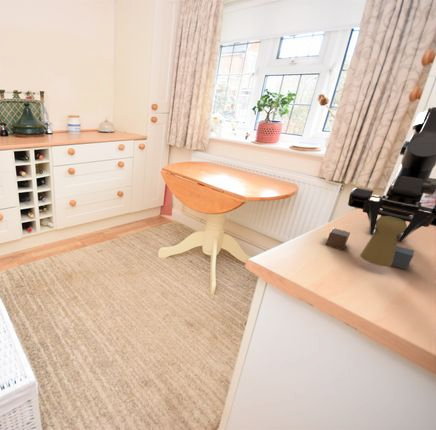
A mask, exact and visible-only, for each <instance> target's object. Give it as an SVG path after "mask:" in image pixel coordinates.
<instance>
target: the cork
mask: <svg viewBox="0 0 436 430" xmlns="http://www.w3.org/2000/svg"><path fill="white" fill-rule="evenodd" d="M407 226H408V225H407V221H406V222H405V221H403V220H402V219H399V218H396V217H391V216H382V217H380V216H379V218H377V221H376V225H375V227H377V229H376V231H375V232H374V234H371V237H370V239H369V240H368V242H367V243H366V244H365V246H364V248H363V249H362V251H361V253H360V254H359V256H360V258H361V259H363V260H364V261H365V262H368V263H370V264H373V265H376V266H381V267H391V266H392V262H393V258H394V254H395V250H396V247H397V246H398V243H399V241H398V239H399V235H400V234H401V235H402V234H403V232H404V231H405V229H406V228H407Z"/></svg>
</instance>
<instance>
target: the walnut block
mask: <svg viewBox="0 0 436 430" xmlns="http://www.w3.org/2000/svg"><path fill="white" fill-rule="evenodd" d="M350 235H351V232H350V231H346V230H342V229H338V228H335V227H333V228H332V229H331V231H330V232H329V234H328V237H327V239H326V243H325V245H327V246H328V247H329V246H330V247H331V248H336V249H338V250H344V248H345V247H346V246H347V243H348V240H349V238H350Z"/></svg>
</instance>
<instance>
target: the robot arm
mask: <svg viewBox="0 0 436 430" xmlns="http://www.w3.org/2000/svg"><path fill="white" fill-rule="evenodd" d="M412 131H414V132H413V134H412V135H411V138H409V141H408V140H405V142H404V143H403V145H401V146H402V147H401V149H400V152H399V156H402V159H401V160H400V161H401V163H400V164H399V167H398V170H397V171H396V174H395V176H394V178H393V180H392V182H391V184H390V185H389V188H388V190H387V192H386V194H384V195H383V194H382V196H380V195H377V194H373V193H374V190H372V189H367V188H363V187H354V188H352V190H351V191H350V194H349V197H348V202H347V205H348V206H349V207H351V208H356V209H360V210H362V212H363V213H365V214H366V215H367V218H368V225H369V234H371V235H373V234H374V232H375V231H376V229H377V227H376V221H377V220H378V216H379V218H380V217H382V216H391V217H396V218H399V219H402V220H403V221H405V222H406V223H409V224H408V225H407V227H406V229H405V231H404V232H403V233H402V234H400V235H399V239H398V242H400V243H403V241H404V240H406V238H408V236H410V235H411V234H412V233H414V232H416V230H418V229H420V228H421V227H424V228H429V227H430V226H433V227H436V203H435V204H434V206H433V207H427V206H422V202H421V200H422V198H423V195H430V196H432V195H434V194H435V192H436V178H432V177H430V176H431V174H432V171H433V170H434V168H435V166H436V106H432V107H428V109H427V110H426V111H423V112H420V113H418V115H417V116H416V119H415V122H414V123H413V126H412Z"/></svg>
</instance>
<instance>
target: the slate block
mask: <svg viewBox="0 0 436 430" xmlns="http://www.w3.org/2000/svg"><path fill="white" fill-rule="evenodd" d="M414 254H415V250H413V249H410V248H406V247H403V246H399V245H397V247H396V250H395V254H394V258H393V262H392V265H391V266H392V267H395V268H399V269H402V270H405V271H406V270H407V269H408V268H409V265H410V263H411V261H412V259H413V258H414Z"/></svg>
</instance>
